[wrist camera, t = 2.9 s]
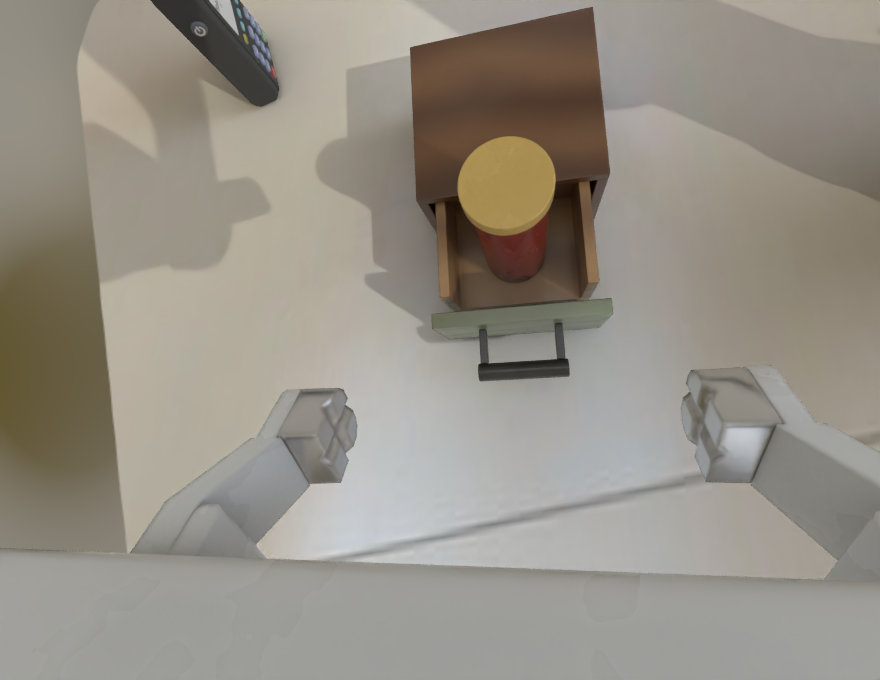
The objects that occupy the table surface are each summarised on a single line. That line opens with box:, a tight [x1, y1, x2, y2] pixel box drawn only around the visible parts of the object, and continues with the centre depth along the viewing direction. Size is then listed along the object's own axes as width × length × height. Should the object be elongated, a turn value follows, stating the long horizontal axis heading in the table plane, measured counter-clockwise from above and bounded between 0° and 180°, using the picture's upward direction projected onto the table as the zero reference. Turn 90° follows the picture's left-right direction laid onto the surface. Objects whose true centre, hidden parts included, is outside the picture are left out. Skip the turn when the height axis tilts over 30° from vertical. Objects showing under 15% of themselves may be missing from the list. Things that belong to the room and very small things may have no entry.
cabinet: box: [410, 7, 610, 233], centre depth 38 cm, size 14×15×9 cm
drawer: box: [432, 181, 613, 381], centre depth 36 cm, size 17×13×7 cm
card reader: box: [151, 0, 279, 106], centre depth 42 cm, size 9×4×15 cm, turn 17°
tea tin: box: [457, 136, 556, 283], centre depth 32 cm, size 6×6×14 cm
